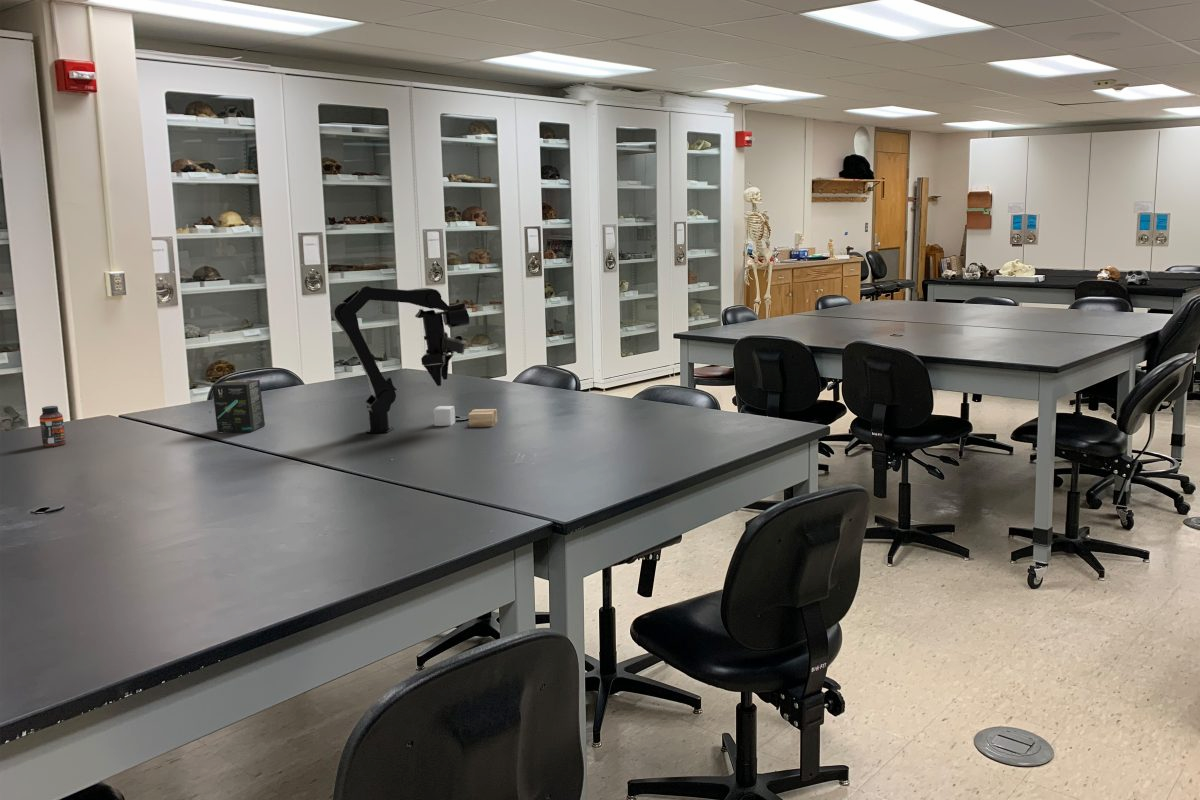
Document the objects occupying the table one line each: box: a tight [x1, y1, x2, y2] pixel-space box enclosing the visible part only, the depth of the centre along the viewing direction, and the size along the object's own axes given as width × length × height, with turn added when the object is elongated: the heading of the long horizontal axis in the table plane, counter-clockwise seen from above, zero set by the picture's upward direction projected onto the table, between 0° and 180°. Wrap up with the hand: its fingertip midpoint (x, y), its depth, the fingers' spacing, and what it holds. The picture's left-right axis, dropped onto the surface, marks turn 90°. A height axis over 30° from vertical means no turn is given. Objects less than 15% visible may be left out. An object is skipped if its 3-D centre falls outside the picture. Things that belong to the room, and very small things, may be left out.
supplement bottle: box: [39, 405, 67, 448], centre depth 280 cm, size 6×6×11 cm
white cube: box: [432, 405, 456, 427], centre depth 289 cm, size 5×5×5 cm
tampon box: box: [212, 379, 266, 433], centre depth 291 cm, size 11×9×15 cm
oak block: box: [468, 408, 498, 428], centre depth 286 cm, size 7×7×4 cm
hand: (442, 382), depth 288 cm, fingers open, 9 cm apart
